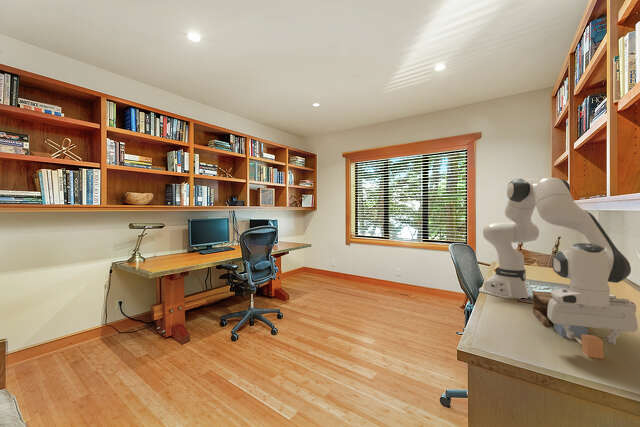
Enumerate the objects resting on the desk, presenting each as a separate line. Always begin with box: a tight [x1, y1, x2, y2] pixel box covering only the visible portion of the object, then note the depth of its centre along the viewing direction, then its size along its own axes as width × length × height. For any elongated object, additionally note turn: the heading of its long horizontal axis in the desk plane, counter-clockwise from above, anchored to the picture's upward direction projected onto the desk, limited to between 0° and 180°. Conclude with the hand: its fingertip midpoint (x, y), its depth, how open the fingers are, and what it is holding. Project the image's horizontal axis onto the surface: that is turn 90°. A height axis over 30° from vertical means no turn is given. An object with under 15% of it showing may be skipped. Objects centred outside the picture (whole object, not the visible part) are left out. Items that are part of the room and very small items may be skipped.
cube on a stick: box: [553, 323, 605, 360], centre depth 90 cm, size 21×7×6 cm, turn 156°
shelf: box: [531, 290, 553, 327], centre depth 107 cm, size 14×11×10 cm
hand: (590, 340), depth 83 cm, fingers open, 8 cm apart
